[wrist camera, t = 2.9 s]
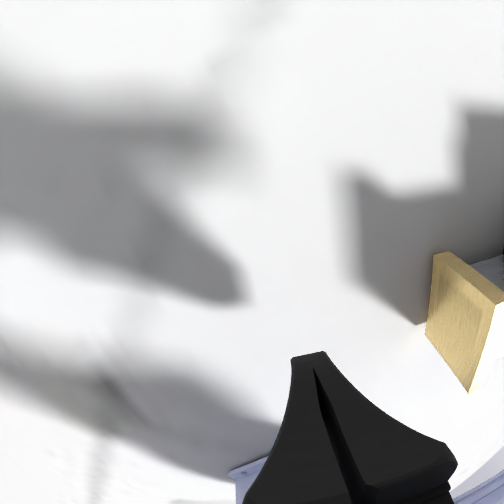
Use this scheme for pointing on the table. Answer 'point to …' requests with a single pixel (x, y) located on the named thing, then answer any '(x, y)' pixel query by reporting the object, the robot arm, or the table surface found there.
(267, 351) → the table surface
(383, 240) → the table surface
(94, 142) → the table surface
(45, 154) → the table surface
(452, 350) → the peg
